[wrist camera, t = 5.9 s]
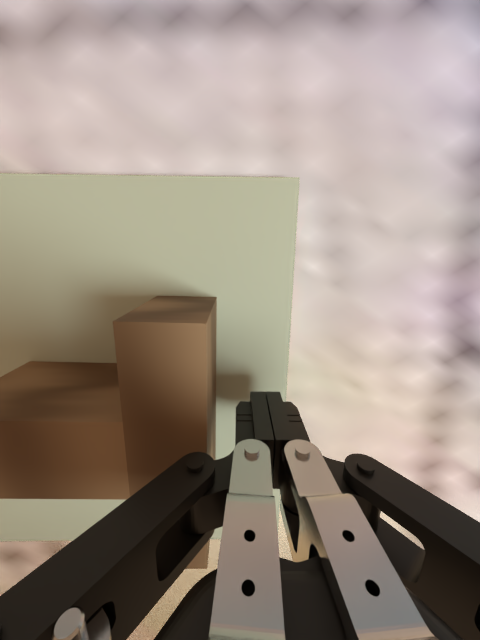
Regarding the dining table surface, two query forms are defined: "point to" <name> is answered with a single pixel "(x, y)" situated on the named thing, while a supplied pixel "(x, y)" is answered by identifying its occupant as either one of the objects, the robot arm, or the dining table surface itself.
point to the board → (142, 289)
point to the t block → (114, 409)
